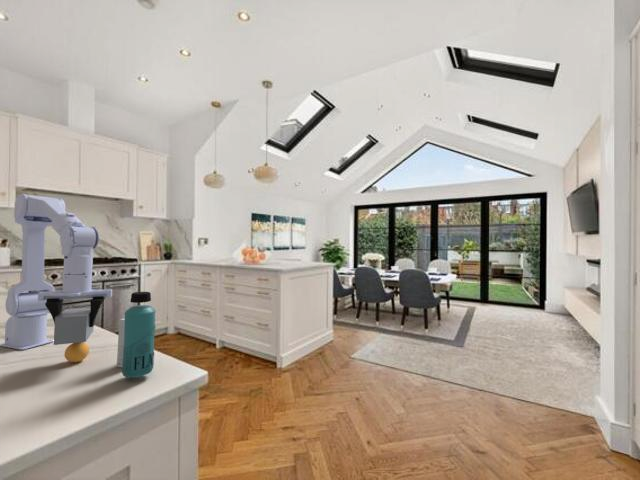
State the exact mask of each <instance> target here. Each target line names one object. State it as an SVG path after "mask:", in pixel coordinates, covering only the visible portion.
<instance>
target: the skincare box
mask: <svg viewBox="0 0 640 480" xmlns="http://www.w3.org/2000/svg"><path fill="white" fill-rule="evenodd" d="M124 328H125V317H124V318H121V319H119V323H118V339H117V340H118V341H117V355H116V367H117V368H122V367H123V354H122V353H123V348H124Z"/></svg>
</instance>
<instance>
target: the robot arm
mask: <svg viewBox="0 0 640 480" xmlns="http://www.w3.org/2000/svg"><path fill="white" fill-rule="evenodd" d="M66 208H67V206H66V203H65V201H64V199H62V198H60V197H57V198H56V197H48V196H41V195H34V194H33V195H32V194H26V193H20V194H19V195H17V196H16V199H15V202H14V212H13V213H14V214H13V215H14V222H15V223H16V224H19V225H21V229H22V231H21V232H22V245H21V246H22V247H21V248H22V252H21V253H22V254H21V281H19V282H18V283H16V284H14V285H13V286H11V287H10V288H9V289H8V291H7V296H6V299H5V311H6V313H7V314H8V315H9V316H10V317H9V318H8V319H7V320H6V322H5V332H4V342H3V343H1V344H0V347H5V348H9V349H15V350H19V351H25V350H27V349H31V348H36V347H39V346H42V345H47V344H50V343H54V339H48V338H47V331H48V330H47V329H48V328H47V327H48V326H47V325H48V314H50V316H51V317H52V319H53V323H54V325H55V317H56V316H58V315H59V314H60V313H62V312H63V305H64V300H76V299H77V300H78V299H81V300H82V299H90V300H89V301H90V308H91V315H90V323H89V327H93V326H95V323H96V318H97V315H98V312H99V310H100V309H101V306H102V305H103V302H104V301H105V299H106V298H107V299H110V298H112V297H113V289H112V288H111V289H103V288H102V289H93V288H92V287H93V286H92V284H93V283H92V280H93V267H94V266H93V265H94V264H93V263H94V262H93V261H94V260H93V259H94V249H96V248H97V247H98V245H99V242H100V241H99V240H100V235H99V230H98V229H97V228H96V227H94V226H86V224H84V222H82V221H81V220H80V219H79V218H78V217H77V216H76V214H75V213H74V212H67V211H66ZM49 226H51V227H52V229H53V230H54V231H55V232H56V233H57V234H58V235H59V243H60V247H61V254H62V256H63V273H62V274H63V276H62V290H55V286H54V285H52V284H51V283H48V282H47V281H45V242H46V241H45V237H46V236H45V231H46V228H48V227H49Z"/></svg>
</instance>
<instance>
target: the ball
mask: <svg viewBox="0 0 640 480" xmlns="http://www.w3.org/2000/svg"><path fill="white" fill-rule="evenodd" d="M89 352H90V347H89V345H88V344H87V342H79V343H70V344H68V346H67V348H65V351H64V358H65V360H66V361H68V362H71V363H78V362H82V361H83V360H84V359H86V358H87V357H88V355H89Z"/></svg>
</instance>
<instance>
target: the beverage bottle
mask: <svg viewBox="0 0 640 480" xmlns="http://www.w3.org/2000/svg"><path fill="white" fill-rule="evenodd" d="M151 296H152V295H151V291H136V292H132V293H131V295H130V303H133V304H139V303H140V304H141V303H149V302H151V301H152V297H151ZM124 318H125V328H124V348H123V353H122V354H123V367H121V372H122V376H123V377H125V378H139V377H144V376H146V375H148V374H150V373H151V372H152V371H153V369H154V367H155V360H154V358H155V350H156V349H155V335H156V309H155V308H154V307H152V306H151V305H147V304H145V305H144V304H142V305H133V306H131V307H129V308H128V309H127V310H126V311H125V312H124Z"/></svg>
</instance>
